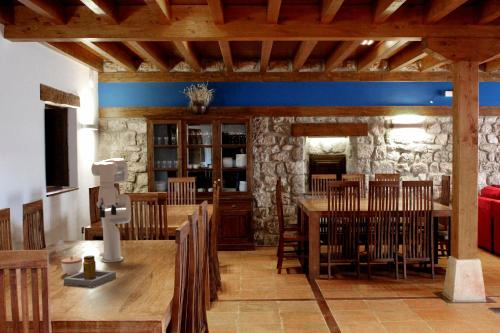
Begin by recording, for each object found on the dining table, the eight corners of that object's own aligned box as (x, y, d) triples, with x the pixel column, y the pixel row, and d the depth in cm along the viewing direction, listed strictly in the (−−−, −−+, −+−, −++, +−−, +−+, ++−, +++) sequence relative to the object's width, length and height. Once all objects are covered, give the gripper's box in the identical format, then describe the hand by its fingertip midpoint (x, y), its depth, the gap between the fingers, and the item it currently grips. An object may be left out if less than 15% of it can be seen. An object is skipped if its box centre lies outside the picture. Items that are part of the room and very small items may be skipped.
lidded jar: (86, 271, 262) (86, 254, 262) (73, 276, 252) (72, 259, 252) (70, 270, 266) (70, 253, 265) (57, 275, 256) (56, 258, 255)
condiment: (80, 279, 243) (79, 256, 243) (95, 276, 250) (94, 253, 249) (88, 282, 239) (87, 258, 238) (102, 278, 245) (102, 255, 245)
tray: (63, 284, 238) (63, 278, 238) (88, 274, 255) (88, 269, 255) (92, 287, 231) (92, 281, 231) (116, 277, 248) (115, 271, 248)
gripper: (111, 184, 272) (112, 213, 272) (91, 186, 256) (92, 218, 256) (122, 184, 269) (123, 214, 270) (102, 186, 253) (103, 218, 253)
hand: (108, 216), depth 263 cm, fingers open, 9 cm apart
